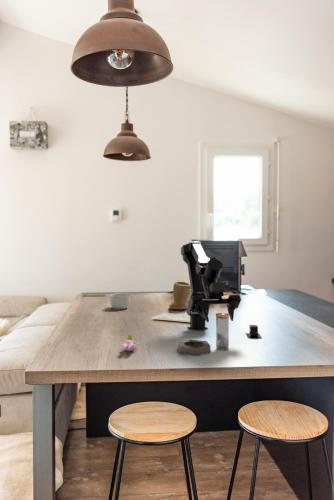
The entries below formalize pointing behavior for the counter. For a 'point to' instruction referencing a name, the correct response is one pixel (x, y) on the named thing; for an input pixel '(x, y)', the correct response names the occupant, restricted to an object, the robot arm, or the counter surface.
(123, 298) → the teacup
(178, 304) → the stone cup
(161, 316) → the counter surface
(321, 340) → the counter surface
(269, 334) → the counter surface
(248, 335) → the black flanged block
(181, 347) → the ring nut
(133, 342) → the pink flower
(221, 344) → the grey copper-topped cylinder
